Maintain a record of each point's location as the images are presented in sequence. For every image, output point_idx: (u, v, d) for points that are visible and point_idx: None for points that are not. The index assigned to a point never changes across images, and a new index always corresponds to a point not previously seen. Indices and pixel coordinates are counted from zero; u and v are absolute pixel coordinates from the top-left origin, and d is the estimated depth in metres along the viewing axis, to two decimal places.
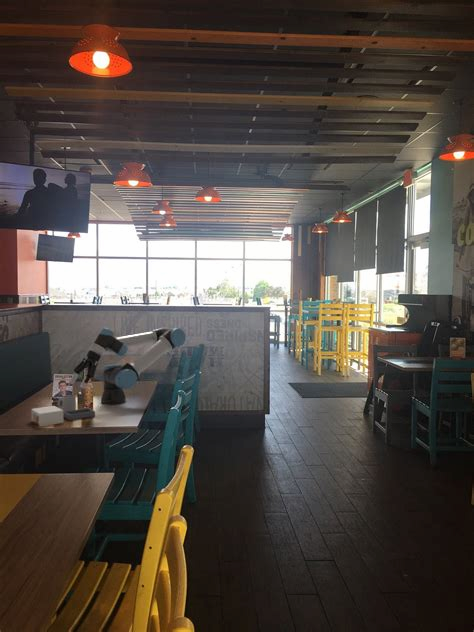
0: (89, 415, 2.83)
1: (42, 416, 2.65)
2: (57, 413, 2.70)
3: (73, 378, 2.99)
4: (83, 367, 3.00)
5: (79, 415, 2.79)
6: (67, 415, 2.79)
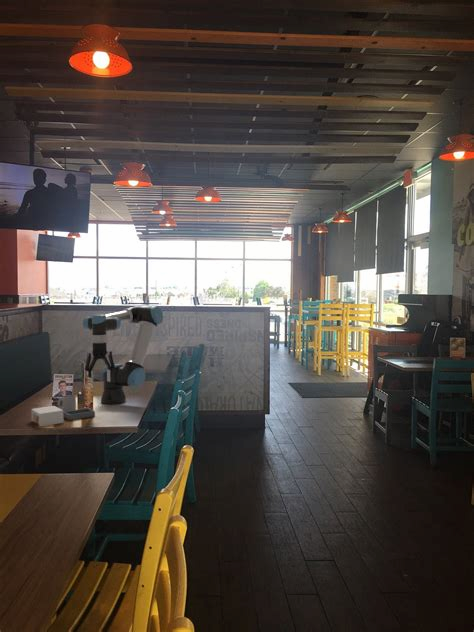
0: (89, 415, 2.83)
1: (42, 416, 2.65)
2: (57, 413, 2.70)
3: None
4: None
5: (79, 415, 2.79)
6: (67, 415, 2.79)
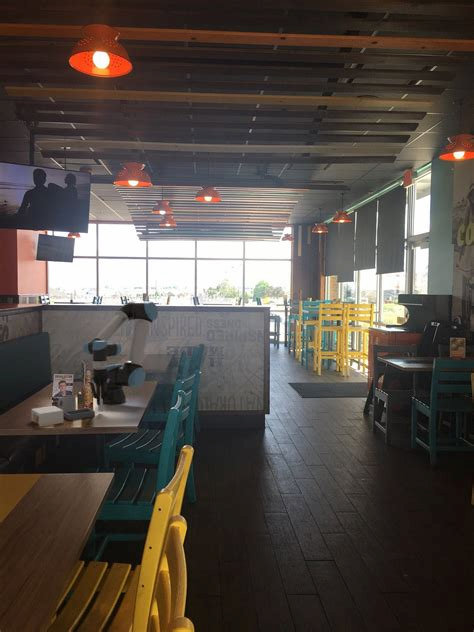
0: (89, 415, 2.83)
1: (42, 416, 2.65)
2: (57, 413, 2.70)
3: None
4: None
5: (79, 415, 2.79)
6: (67, 415, 2.79)
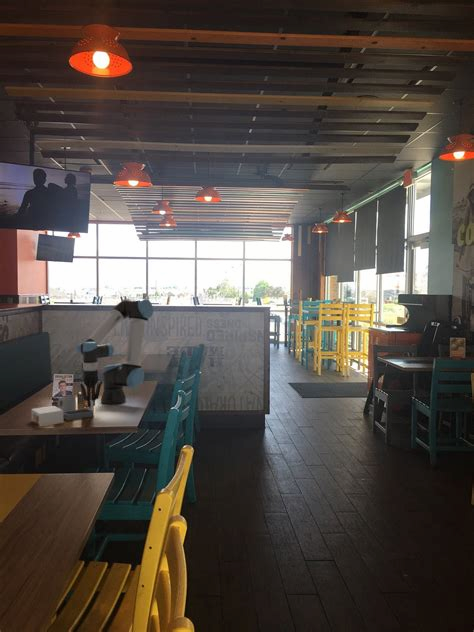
0: (88, 415, 2.82)
1: (42, 416, 2.65)
2: (57, 413, 2.70)
3: None
4: None
5: (77, 415, 2.79)
6: (65, 415, 2.78)
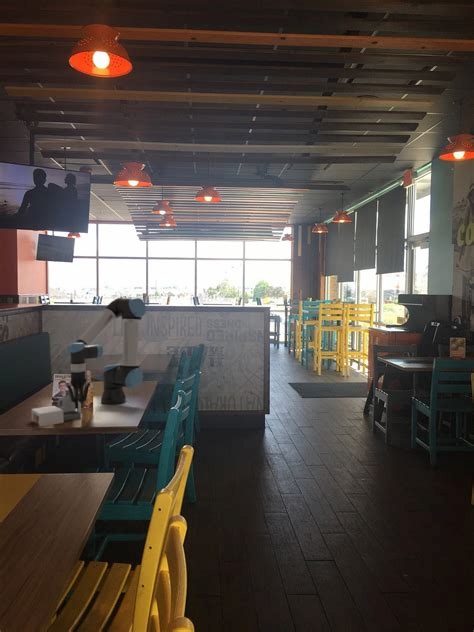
0: (75, 417, 2.78)
1: (42, 416, 2.65)
2: (57, 413, 2.70)
3: None
4: None
5: (64, 417, 2.74)
6: None
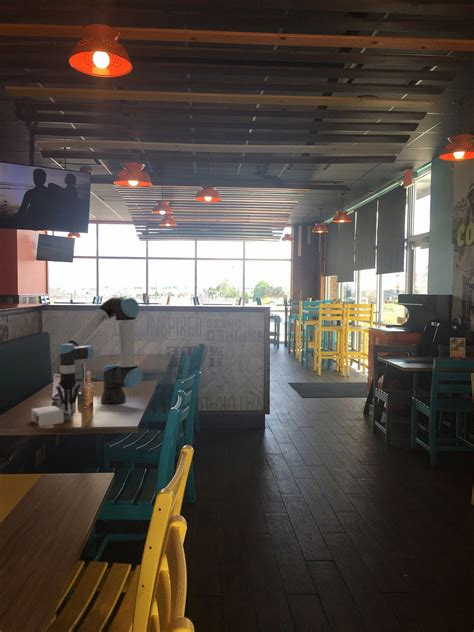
0: (64, 419, 2.75)
1: (42, 416, 2.65)
2: (57, 413, 2.70)
3: None
4: None
5: None
6: None
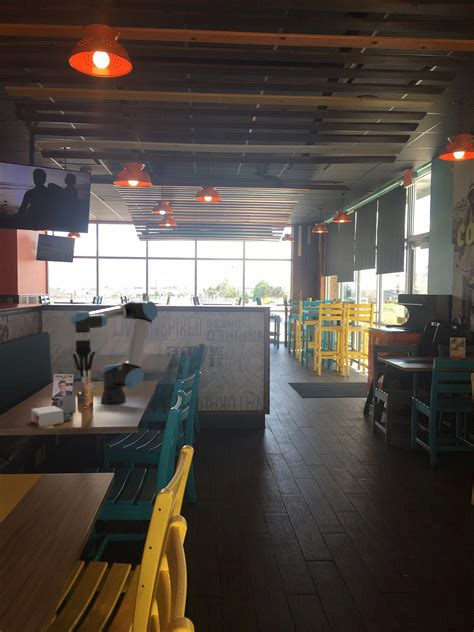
0: (64, 419, 2.75)
1: (42, 416, 2.65)
2: (57, 413, 2.70)
3: None
4: None
5: None
6: None
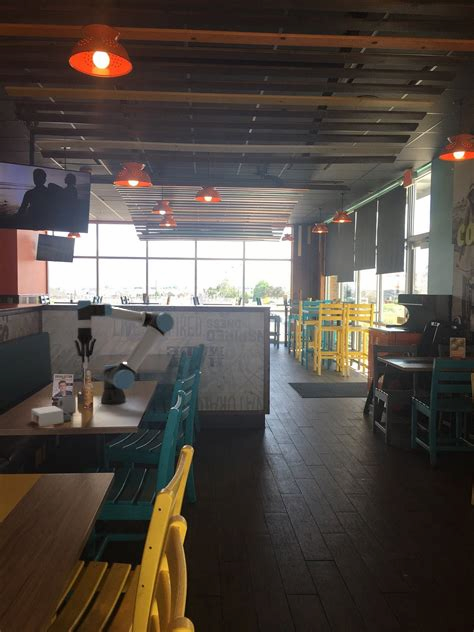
0: (64, 419, 2.75)
1: (42, 416, 2.65)
2: (57, 413, 2.70)
3: None
4: None
5: None
6: None
